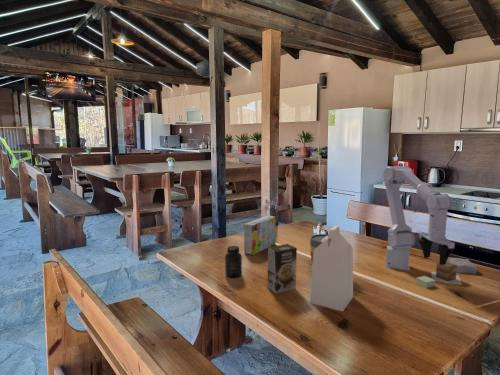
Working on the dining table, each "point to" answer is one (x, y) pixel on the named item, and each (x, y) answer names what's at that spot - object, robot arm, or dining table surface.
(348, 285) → the milk
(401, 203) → the robot arm
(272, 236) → the snack box
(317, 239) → the reusable coffee cup
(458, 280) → the felt mat
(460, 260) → the stone block
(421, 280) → the pale green cube
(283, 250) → the coffee box
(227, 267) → the supplement bottle
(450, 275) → the tower base
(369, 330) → the dining table surface
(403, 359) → the dining table surface
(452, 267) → the tower top
